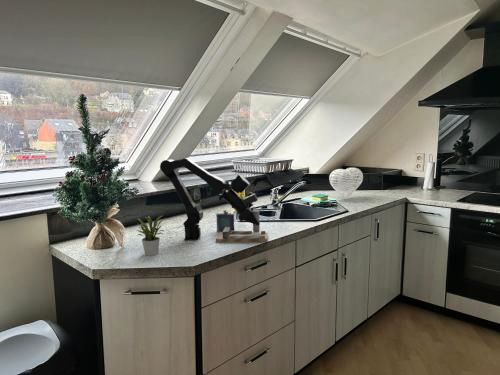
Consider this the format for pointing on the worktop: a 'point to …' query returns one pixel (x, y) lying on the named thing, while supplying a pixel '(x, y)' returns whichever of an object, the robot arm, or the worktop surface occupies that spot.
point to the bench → (240, 236)
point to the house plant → (150, 236)
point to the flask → (225, 221)
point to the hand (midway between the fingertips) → (259, 223)
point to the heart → (341, 171)
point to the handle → (256, 228)
